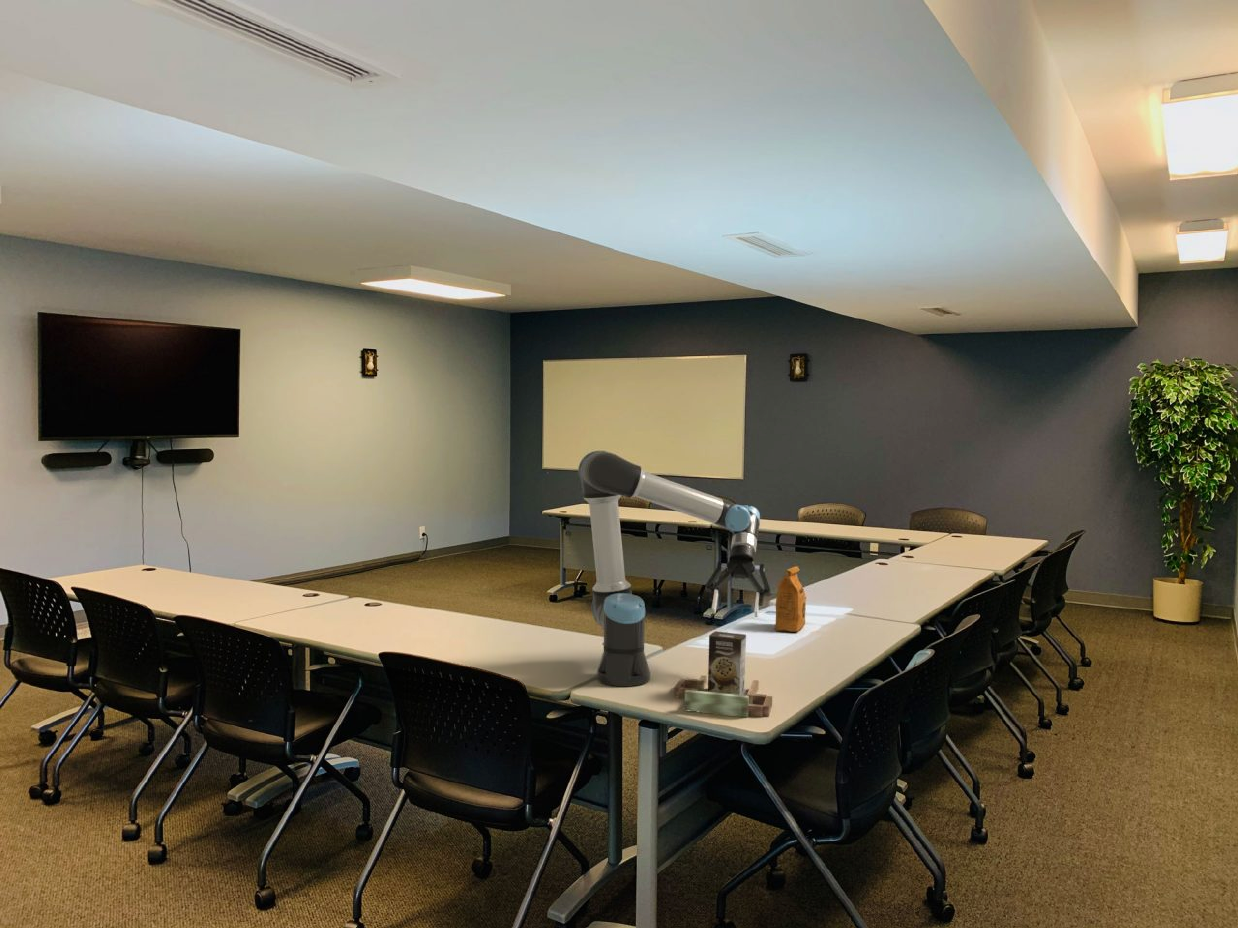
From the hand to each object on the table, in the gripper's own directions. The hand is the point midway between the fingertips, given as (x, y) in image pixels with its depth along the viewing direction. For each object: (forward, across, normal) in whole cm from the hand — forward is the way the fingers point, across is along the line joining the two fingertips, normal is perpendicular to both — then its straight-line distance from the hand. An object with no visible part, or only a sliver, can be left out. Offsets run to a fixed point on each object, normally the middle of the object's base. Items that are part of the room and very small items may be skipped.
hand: (734, 612), depth 247 cm
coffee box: (+23, 0, -4) cm, 23 cm away
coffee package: (-33, -10, -60) cm, 70 cm away
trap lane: (+27, 0, 0) cm, 27 cm away
